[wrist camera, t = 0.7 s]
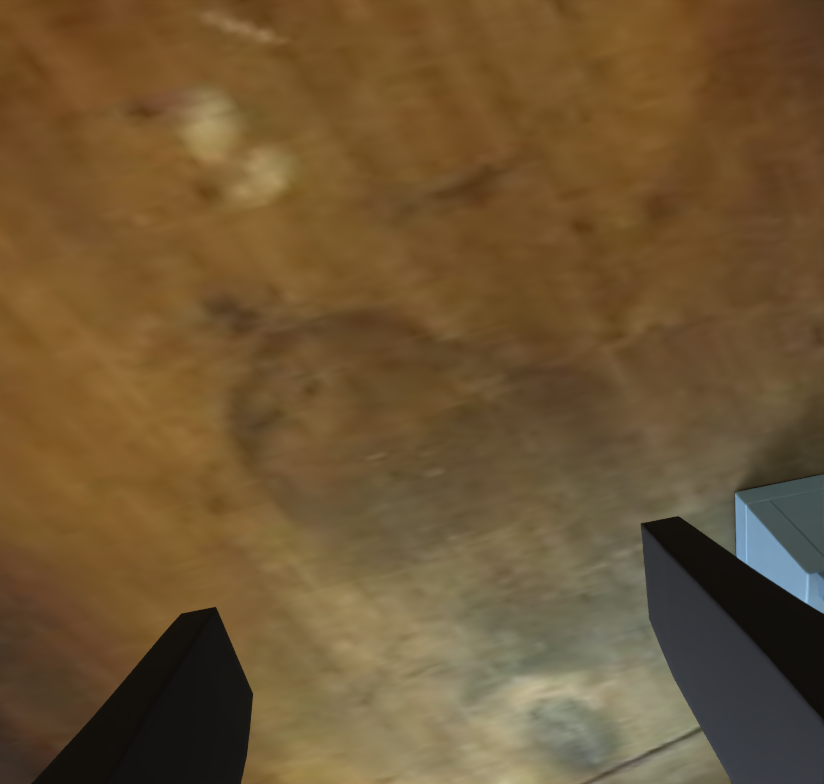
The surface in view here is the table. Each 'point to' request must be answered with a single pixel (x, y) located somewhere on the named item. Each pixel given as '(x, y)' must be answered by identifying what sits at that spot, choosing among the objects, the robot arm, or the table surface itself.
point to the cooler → (784, 534)
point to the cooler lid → (821, 585)
